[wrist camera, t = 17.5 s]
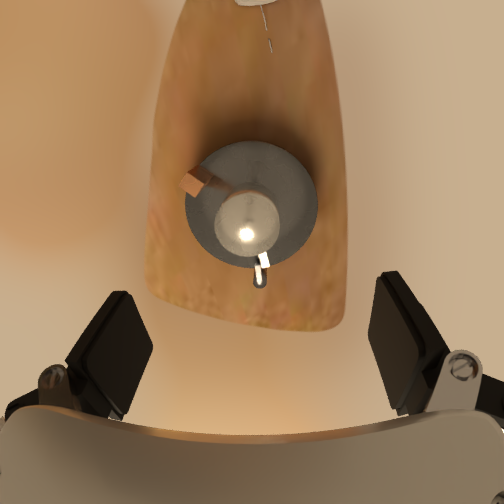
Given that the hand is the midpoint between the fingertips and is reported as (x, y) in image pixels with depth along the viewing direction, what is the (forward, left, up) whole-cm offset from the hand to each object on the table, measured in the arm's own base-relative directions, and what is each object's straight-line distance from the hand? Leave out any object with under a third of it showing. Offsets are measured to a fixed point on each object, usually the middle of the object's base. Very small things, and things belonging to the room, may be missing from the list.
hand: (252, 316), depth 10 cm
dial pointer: (+11, -2, -25) cm, 28 cm away
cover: (+2, -2, -22) cm, 22 cm away
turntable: (+2, -2, -24) cm, 24 cm away
